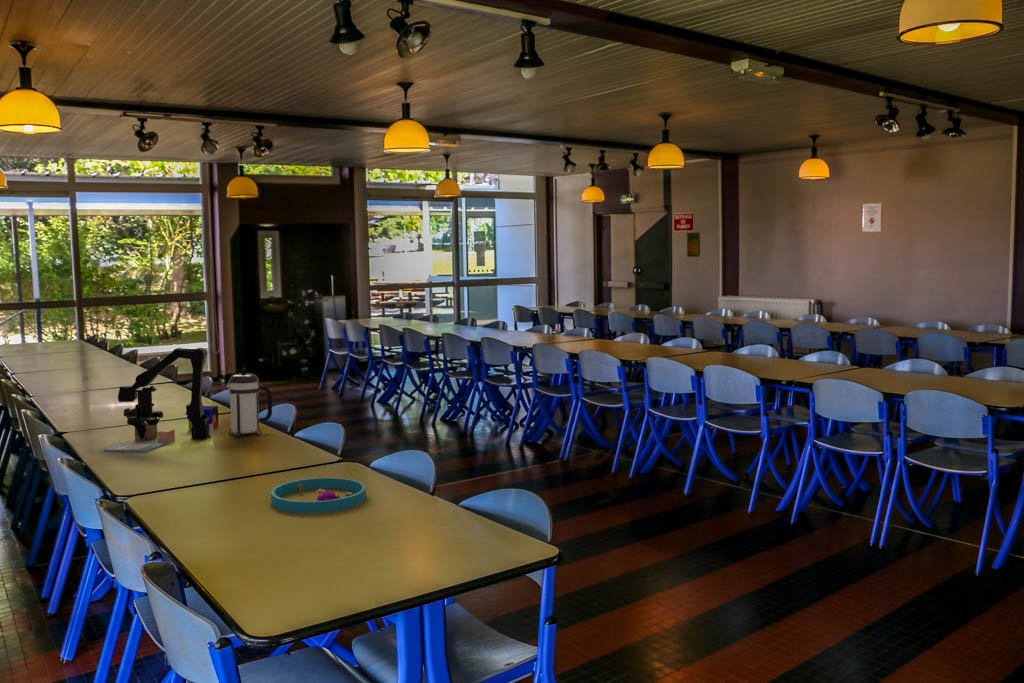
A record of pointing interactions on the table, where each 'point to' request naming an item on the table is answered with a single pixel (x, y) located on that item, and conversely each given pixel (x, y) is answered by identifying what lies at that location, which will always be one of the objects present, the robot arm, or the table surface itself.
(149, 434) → the walnut block
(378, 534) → the table surface
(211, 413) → the puzzle toy
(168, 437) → the terracotta block
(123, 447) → the mat
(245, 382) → the coffee press
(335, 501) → the teal ring
